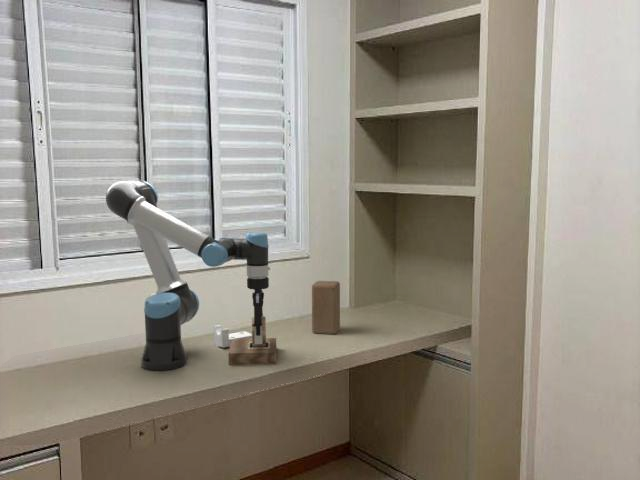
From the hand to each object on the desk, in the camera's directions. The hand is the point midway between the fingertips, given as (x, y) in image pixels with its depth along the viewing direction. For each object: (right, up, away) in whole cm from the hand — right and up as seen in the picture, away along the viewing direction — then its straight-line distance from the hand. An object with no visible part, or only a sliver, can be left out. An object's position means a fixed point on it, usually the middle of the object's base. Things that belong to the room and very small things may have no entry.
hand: (258, 340), depth 220 cm
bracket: (-11, -4, +16) cm, 20 cm away
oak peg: (0, -6, +1) cm, 6 cm away
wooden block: (+24, -2, +34) cm, 42 cm away
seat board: (-2, -6, +1) cm, 6 cm away
